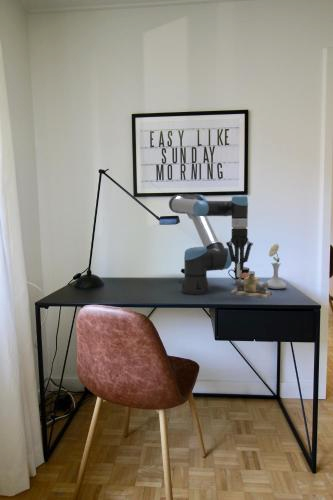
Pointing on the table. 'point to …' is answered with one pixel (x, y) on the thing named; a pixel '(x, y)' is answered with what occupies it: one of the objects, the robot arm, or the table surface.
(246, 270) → the coffee mug
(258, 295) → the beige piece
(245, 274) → the lever
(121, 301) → the table surface
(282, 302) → the table surface
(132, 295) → the table surface
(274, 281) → the flower in vase
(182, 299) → the table surface
